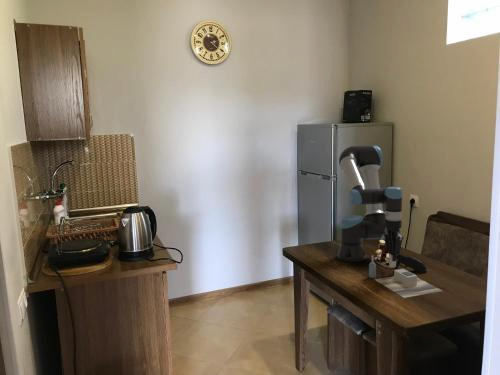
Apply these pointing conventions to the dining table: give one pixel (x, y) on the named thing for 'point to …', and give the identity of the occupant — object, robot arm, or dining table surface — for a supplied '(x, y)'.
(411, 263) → the gun
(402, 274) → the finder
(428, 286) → the panel
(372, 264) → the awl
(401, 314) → the dining table surface
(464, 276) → the dining table surface
